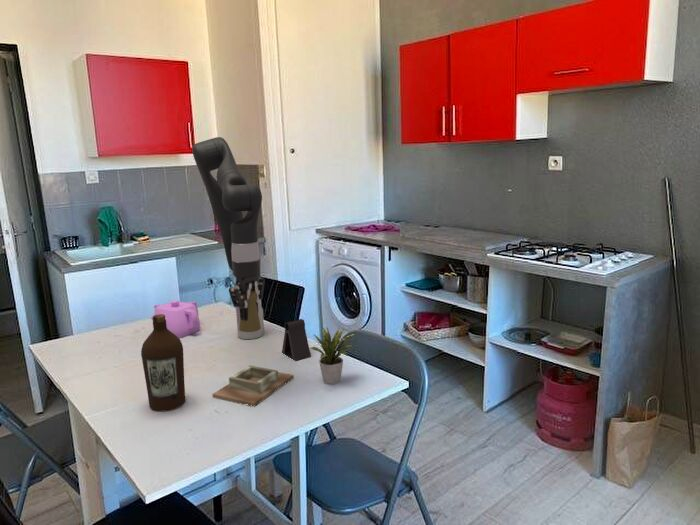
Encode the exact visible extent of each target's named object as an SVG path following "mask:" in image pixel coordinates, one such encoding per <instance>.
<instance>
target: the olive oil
mask: <svg viewBox="0 0 700 525" xmlns="http://www.w3.org/2000/svg"><path fill="white" fill-rule="evenodd" d="M152 316H153V320H152V329H153V330H152V332H151V333H150V334H149V335H148V336H147V337H146V339H145V340H144V341H143V343H142V347H141V350H140V356H141V361H142V362H141V363H142V366H143V372H144V379H145V385H146V391H147V392H146V393H147V398H148V406H149V408H150V409H151V410H153V411H155V412H166V411H172V410H175V409H178V408H180V407H182V406H183V405H184V404H185V402H186V388H185V387H186V386H185V365H184V346H183V343H182V341H181V338H178V337H177V336H176V335H175V334H173V333H172V332H171V331H169V330H168V329H167V325H166V319H165V315H164V314H158V315H154V314H153V315H152Z"/></svg>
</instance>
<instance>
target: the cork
mask: <svg viewBox="0 0 700 525" xmlns="http://www.w3.org/2000/svg"><path fill="white" fill-rule="evenodd" d="M240 296H244V297H245V296H246V295H243V294H240ZM257 298H258V296H257V293H256V292H255V291H251V292H250V296H249V299H248V300H247V303H248V305H247V308H248V320H247V321H244V320H241V318H240V325H239V330H240V331H242V332H254V331H258V330H260V329H261V326H260V321H259V316H258V311H257V306H256V301H257ZM242 302H243V303H244V299H242Z"/></svg>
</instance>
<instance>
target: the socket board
mask: <svg viewBox="0 0 700 525" xmlns="http://www.w3.org/2000/svg"><path fill="white" fill-rule="evenodd" d="M294 376H295V375H294V374H292V373H291V374H290V373H287V372H286V373H284V372H280V371H279V370H276V369H272V368H271V369H270V368H267V367H260V366H255V365H249V366H247V367H245V368H243V369H242V370H240V371H239V372H237V373H235V374H233V375H232V376H230V377H229V378H228V384H226V385H225V386H222V387H221V388H220V389H219V390H217V391H215V392H214V393H212V398H213V399H218V400H222V399H223V401H227V400H228V402H231V401H232V403H235V402H237V403H236V404H240V403H241V404H240V405H244V404H248V405H252V406H251V407H253V406H254V405H256V404H257V403H258V404H260V403H261V402H262V400H263V399H264V400H265V399H267V398H268V397H269V395H270V394H271V393H272V394H274V393H275V392H276V391H277V389H278V388H279V389H281V388H282V387H283V386H285V385H286V384H288V383H289V382H290V381H292V380H293V379H294ZM292 378H293V379H292ZM291 379H292V380H291ZM288 381H289V382H288ZM285 383H286V384H285ZM284 384H285V385H284ZM281 386H282V387H281ZM280 387H281V388H280ZM279 389H278V390H279ZM275 390H276V391H275ZM274 391H275V392H274ZM273 392H274V393H273ZM272 394H271V395H272ZM271 395H270V396H271ZM267 396H268V397H267ZM266 397H267V398H266ZM264 400H263V401H264ZM260 401H261V402H260ZM259 402H260V403H259ZM258 404H257V405H258ZM248 405H247V406H248ZM257 405H256V406H257ZM254 407H255V406H254Z"/></svg>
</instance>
